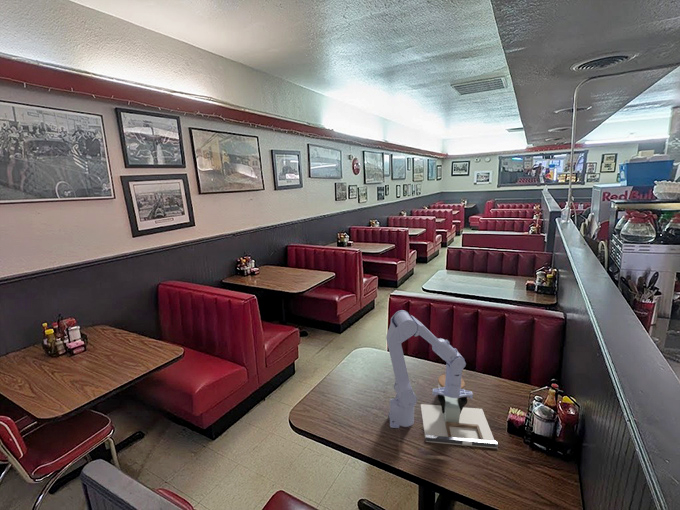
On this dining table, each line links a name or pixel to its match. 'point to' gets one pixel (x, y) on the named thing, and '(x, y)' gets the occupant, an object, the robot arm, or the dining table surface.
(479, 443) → the white square tray
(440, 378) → the lidded jar
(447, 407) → the carton
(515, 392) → the dining table surface
